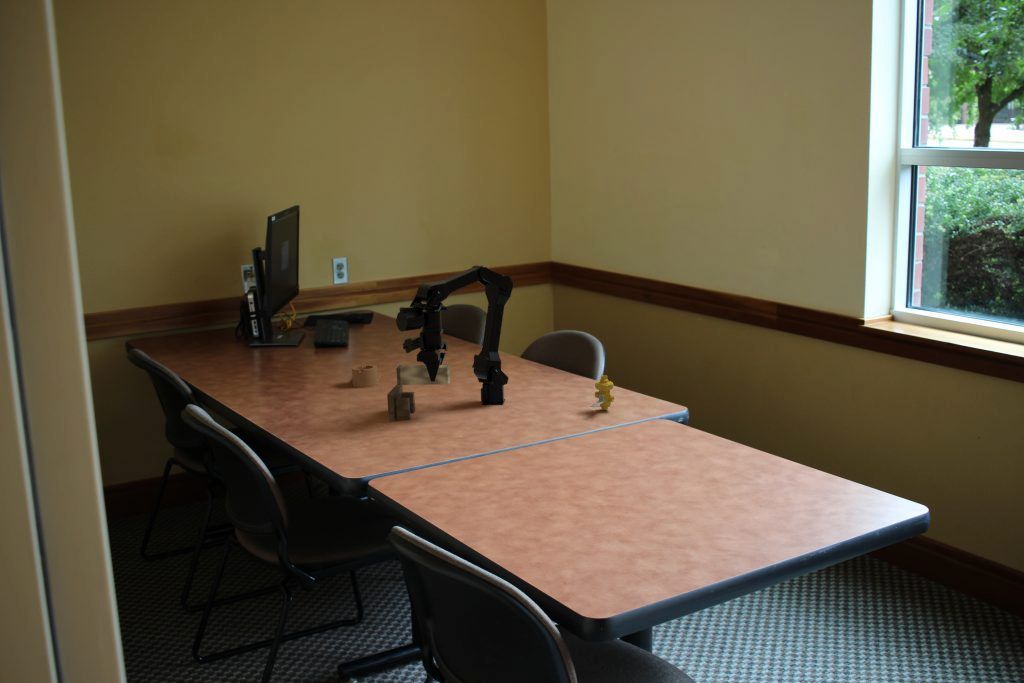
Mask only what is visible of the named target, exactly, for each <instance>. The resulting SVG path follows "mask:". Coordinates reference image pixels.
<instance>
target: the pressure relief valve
mask: <svg viewBox="0 0 1024 683" xmlns="http://www.w3.org/2000/svg"><path fill="white" fill-rule="evenodd" d="M594 387H595V389H596V390H598V391H595V392H594V397H595V399H598V400H597V401H596V402H594V403H591V404H590V405H589V407H591V408H599V407H600V408H601V410H604V411H607V410H608V409H609V407H611V405H612V403H614V400H615V396H614V395H611V390H613V389H614V383H613V381H611V380H609V379H608V375H605V374H604V375H603V374H602V375H601V376H600V380H599V381H596V382H595V383H594Z"/></svg>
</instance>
